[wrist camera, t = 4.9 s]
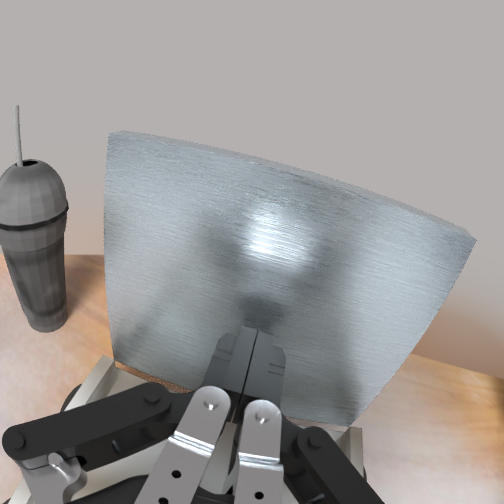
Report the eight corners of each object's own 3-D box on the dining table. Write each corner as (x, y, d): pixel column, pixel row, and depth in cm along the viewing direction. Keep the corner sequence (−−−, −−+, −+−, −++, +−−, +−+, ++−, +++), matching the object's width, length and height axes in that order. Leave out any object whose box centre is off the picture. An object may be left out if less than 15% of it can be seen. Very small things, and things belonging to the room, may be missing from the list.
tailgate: (348, 426, 17) (476, 240, 10) (114, 360, 17) (108, 133, 11) (348, 406, 18) (460, 224, 12) (126, 342, 19) (130, 129, 12)
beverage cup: (80, 341, 23) (66, 105, 14) (12, 343, 20) (-29, 114, 11) (80, 292, 29) (79, 99, 19) (21, 294, 25) (4, 104, 16)
